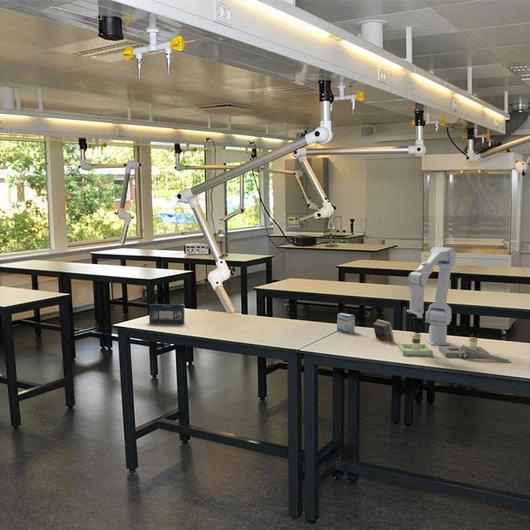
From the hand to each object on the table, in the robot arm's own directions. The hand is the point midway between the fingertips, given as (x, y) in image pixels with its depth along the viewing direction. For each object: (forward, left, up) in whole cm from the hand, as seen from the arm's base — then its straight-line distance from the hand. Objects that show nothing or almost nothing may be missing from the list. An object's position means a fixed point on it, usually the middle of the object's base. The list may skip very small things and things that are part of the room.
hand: (415, 331), depth 259 cm
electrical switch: (-22, -10, -9) cm, 26 cm away
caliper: (+11, +26, -10) cm, 30 cm away
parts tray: (0, 0, -9) cm, 9 cm away
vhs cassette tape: (-53, -118, -10) cm, 130 cm away
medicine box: (-39, -26, -9) cm, 48 cm away
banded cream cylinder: (0, 0, -9) cm, 9 cm away
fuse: (+2, +24, -9) cm, 26 cm away
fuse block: (+2, +20, -9) cm, 22 cm away
